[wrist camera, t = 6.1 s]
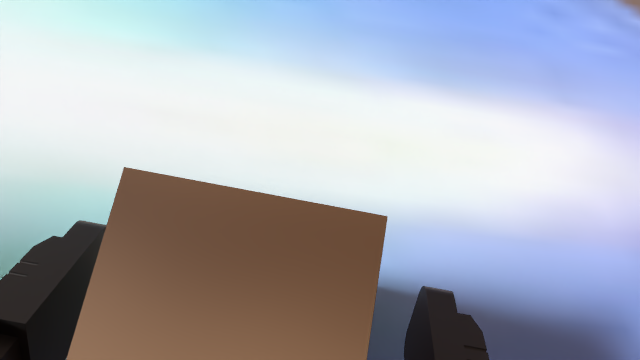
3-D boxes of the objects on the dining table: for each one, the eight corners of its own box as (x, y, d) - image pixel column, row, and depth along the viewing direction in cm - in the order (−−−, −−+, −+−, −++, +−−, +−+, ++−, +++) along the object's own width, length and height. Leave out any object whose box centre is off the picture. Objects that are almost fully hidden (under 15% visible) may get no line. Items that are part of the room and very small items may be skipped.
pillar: (314, 415, 17) (343, 518, 8) (178, 390, 17) (35, 459, 8) (338, 277, 18) (387, 216, 9) (211, 253, 19) (124, 167, 9)
